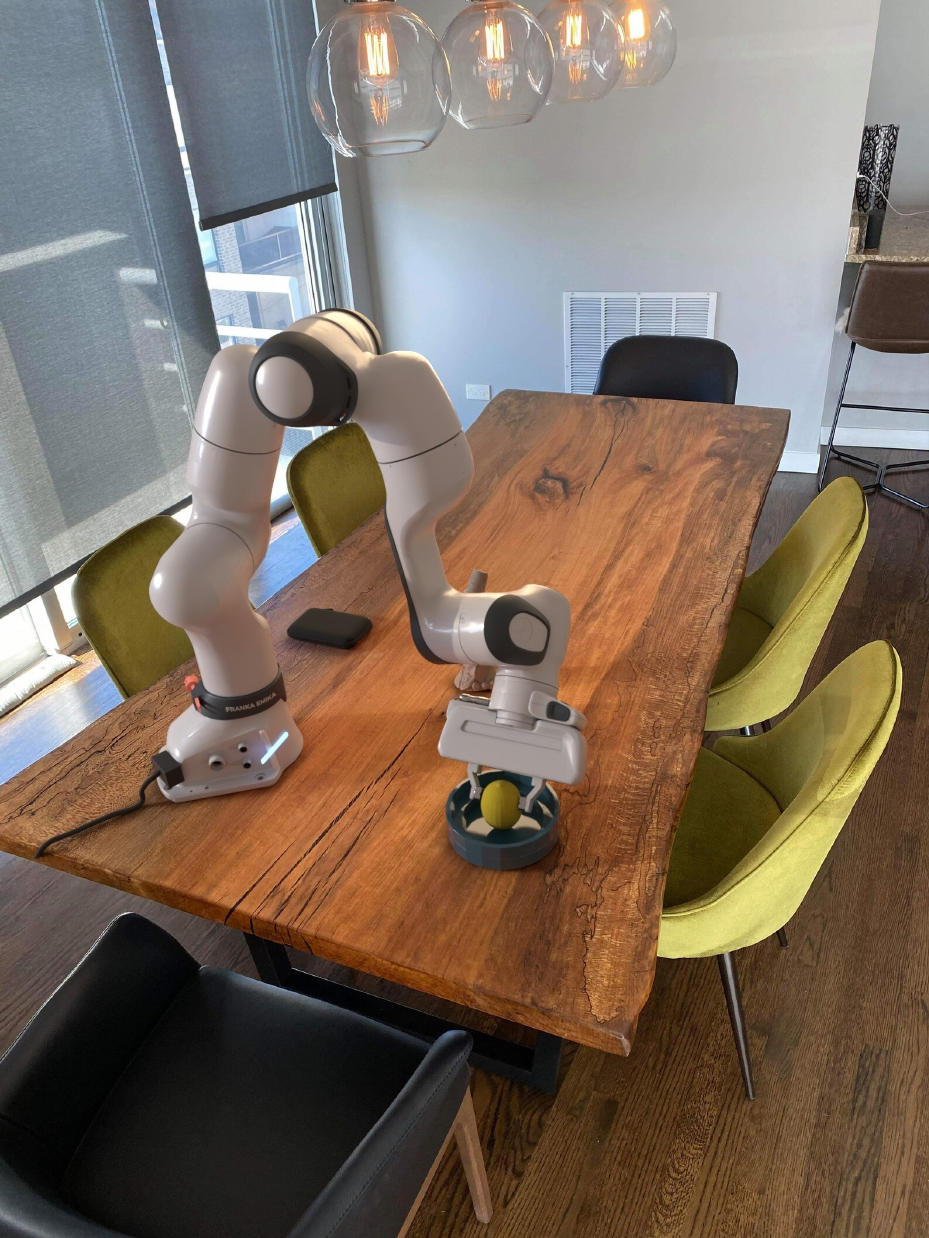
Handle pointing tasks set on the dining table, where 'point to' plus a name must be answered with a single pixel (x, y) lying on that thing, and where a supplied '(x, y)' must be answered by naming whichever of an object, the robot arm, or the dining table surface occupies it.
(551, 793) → the bowl
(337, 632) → the carrying case
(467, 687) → the figurine
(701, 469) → the dining table surface
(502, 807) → the lemon
